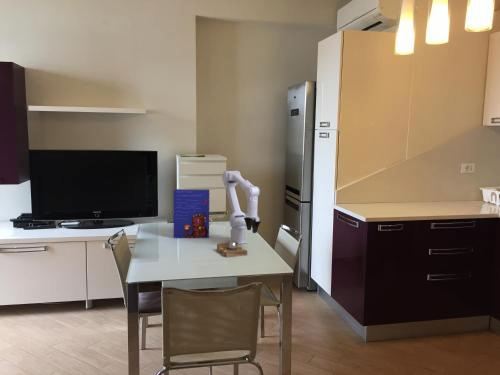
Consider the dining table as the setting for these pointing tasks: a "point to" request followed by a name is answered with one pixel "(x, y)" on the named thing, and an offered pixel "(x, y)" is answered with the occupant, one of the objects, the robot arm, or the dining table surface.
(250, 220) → the robot arm
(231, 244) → the bushing
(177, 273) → the dining table surface
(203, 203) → the cereal box
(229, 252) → the jig
